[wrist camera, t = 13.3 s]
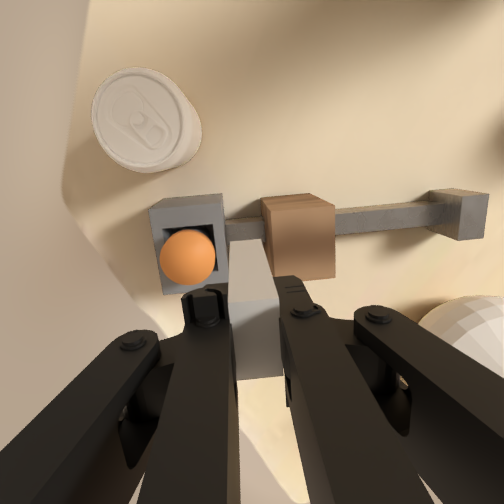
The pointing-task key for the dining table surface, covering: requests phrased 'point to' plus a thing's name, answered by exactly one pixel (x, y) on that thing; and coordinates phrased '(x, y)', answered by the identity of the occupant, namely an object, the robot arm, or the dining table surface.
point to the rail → (395, 217)
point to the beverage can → (145, 121)
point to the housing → (191, 214)
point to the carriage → (299, 236)
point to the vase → (471, 328)
